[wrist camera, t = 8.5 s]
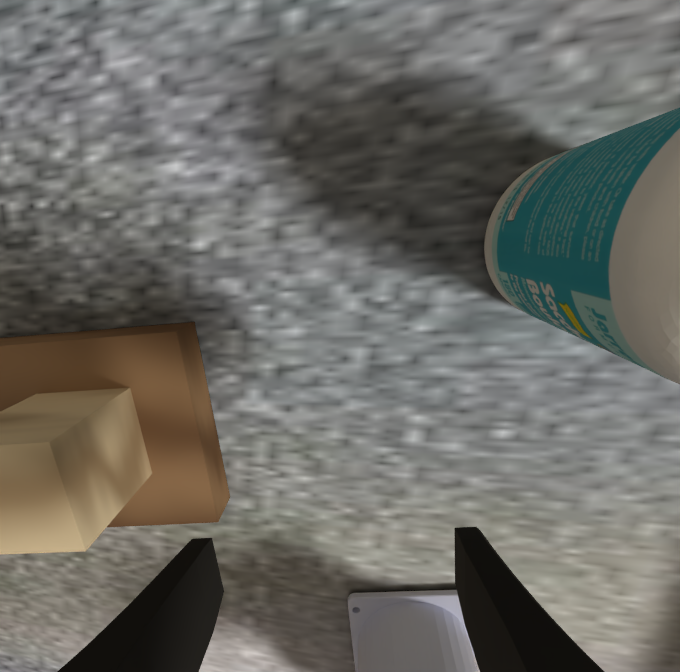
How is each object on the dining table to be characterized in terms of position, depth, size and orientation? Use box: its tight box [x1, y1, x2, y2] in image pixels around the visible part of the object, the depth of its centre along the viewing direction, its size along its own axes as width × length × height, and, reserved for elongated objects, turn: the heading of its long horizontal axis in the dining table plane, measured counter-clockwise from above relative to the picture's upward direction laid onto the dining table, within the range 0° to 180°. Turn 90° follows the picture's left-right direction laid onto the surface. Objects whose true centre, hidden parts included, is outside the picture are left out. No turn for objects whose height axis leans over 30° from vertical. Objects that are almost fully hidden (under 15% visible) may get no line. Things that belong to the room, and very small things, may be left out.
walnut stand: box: [0, 322, 230, 527], centre depth 20 cm, size 11×11×2 cm
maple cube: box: [0, 388, 152, 554], centre depth 17 cm, size 5×5×5 cm
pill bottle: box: [484, 108, 680, 384], centre depth 11 cm, size 8×7×14 cm
